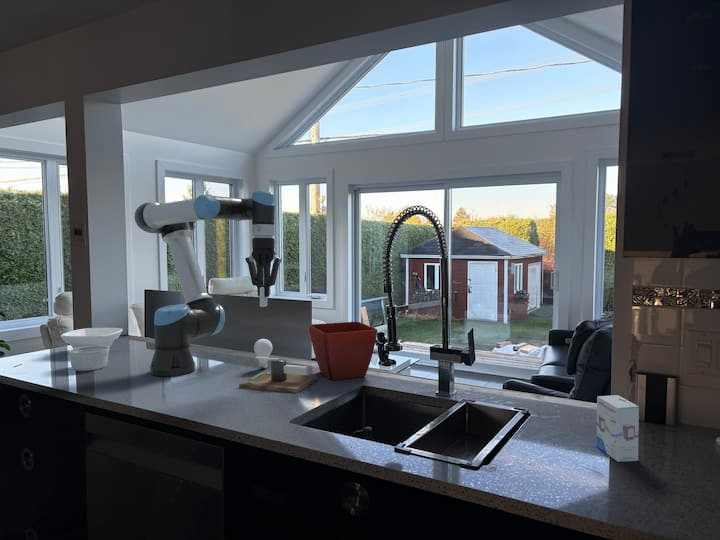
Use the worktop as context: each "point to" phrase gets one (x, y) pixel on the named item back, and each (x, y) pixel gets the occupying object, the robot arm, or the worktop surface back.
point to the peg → (283, 369)
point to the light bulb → (263, 351)
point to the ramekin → (89, 357)
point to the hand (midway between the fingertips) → (263, 306)
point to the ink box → (617, 427)
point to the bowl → (91, 337)
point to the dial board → (278, 382)
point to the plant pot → (343, 348)
